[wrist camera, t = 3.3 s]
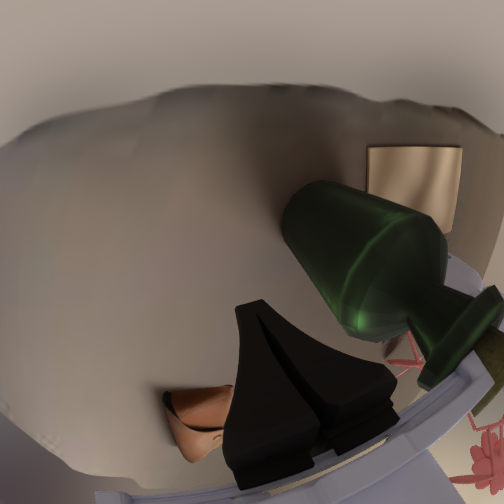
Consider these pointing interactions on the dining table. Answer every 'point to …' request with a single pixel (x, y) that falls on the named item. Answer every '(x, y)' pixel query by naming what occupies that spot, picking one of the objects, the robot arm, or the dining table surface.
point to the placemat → (417, 179)
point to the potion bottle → (393, 279)
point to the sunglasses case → (198, 419)
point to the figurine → (486, 458)
